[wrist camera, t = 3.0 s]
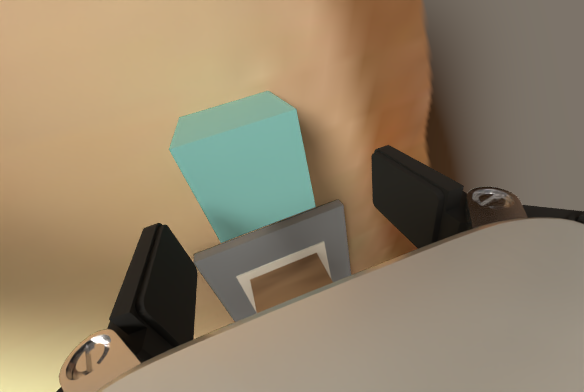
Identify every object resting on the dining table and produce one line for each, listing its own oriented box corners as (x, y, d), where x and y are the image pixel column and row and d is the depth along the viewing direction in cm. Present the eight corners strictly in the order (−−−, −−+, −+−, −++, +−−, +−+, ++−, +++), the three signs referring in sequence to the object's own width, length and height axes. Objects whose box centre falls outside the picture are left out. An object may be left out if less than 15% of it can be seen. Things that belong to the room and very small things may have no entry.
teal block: (179, 117, 15) (169, 149, 10) (267, 90, 16) (296, 109, 11) (216, 192, 19) (221, 243, 14) (287, 167, 20) (315, 206, 15)
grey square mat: (193, 254, 21) (193, 264, 20) (338, 199, 23) (344, 205, 22) (250, 337, 30) (251, 346, 29) (349, 293, 32) (354, 300, 31)
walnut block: (249, 279, 23) (257, 317, 20) (316, 252, 24) (334, 284, 21) (269, 316, 27) (278, 353, 24) (325, 291, 28) (341, 323, 25)
